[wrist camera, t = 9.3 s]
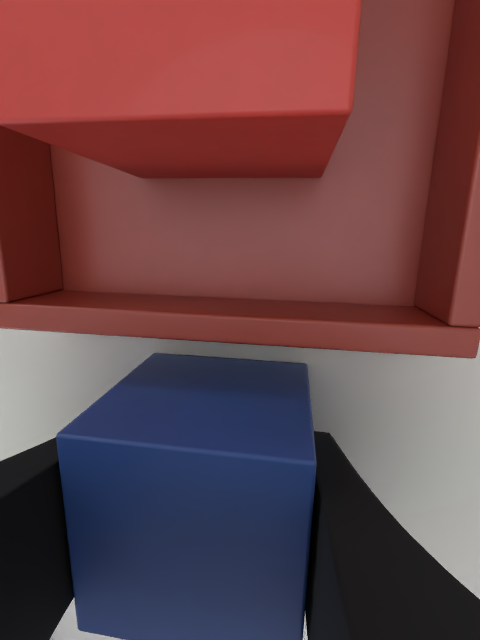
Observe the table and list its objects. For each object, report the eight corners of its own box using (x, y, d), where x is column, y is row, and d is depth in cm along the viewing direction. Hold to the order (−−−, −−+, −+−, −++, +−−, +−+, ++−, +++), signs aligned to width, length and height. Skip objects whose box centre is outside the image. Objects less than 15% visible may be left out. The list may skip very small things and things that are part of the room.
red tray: (428, 326, 9) (477, 360, 7) (58, 307, 10) (-13, 328, 8) (518, -281, 6) (657, -602, 4) (7, -195, 8) (-124, -389, 5)
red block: (322, 178, 8) (354, 114, 4) (139, 178, 9) (-9, 124, 4) (338, -59, 7) (406, -507, 3) (129, -39, 8) (-76, -381, 3)
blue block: (297, 500, 11) (299, 675, 6) (158, 483, 11) (76, 632, 7) (307, 362, 10) (317, 462, 5) (153, 352, 10) (53, 434, 6)
